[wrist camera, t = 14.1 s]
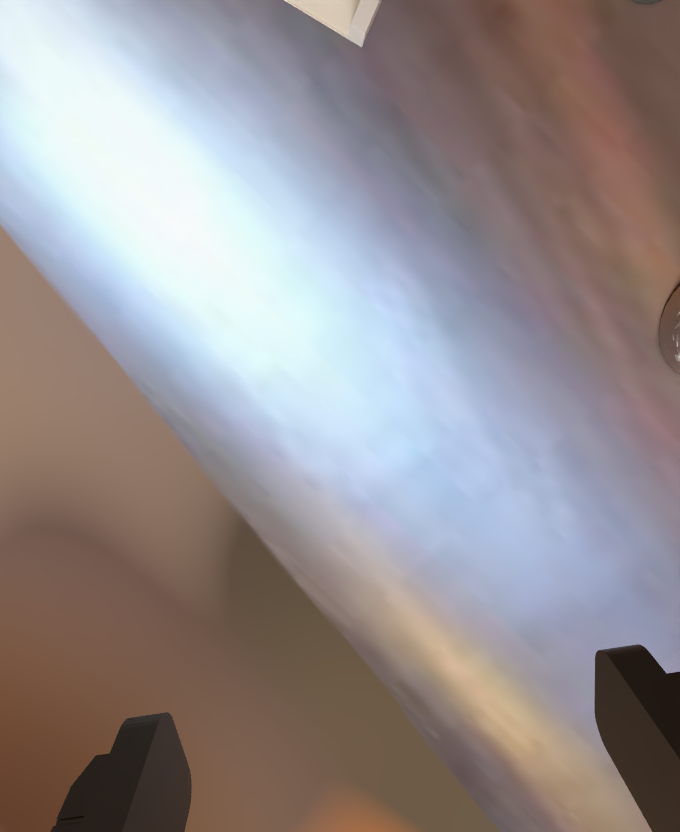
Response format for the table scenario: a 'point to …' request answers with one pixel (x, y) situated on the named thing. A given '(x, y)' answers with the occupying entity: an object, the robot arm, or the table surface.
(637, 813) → the table surface
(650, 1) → the sundae
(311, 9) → the toy front loader
